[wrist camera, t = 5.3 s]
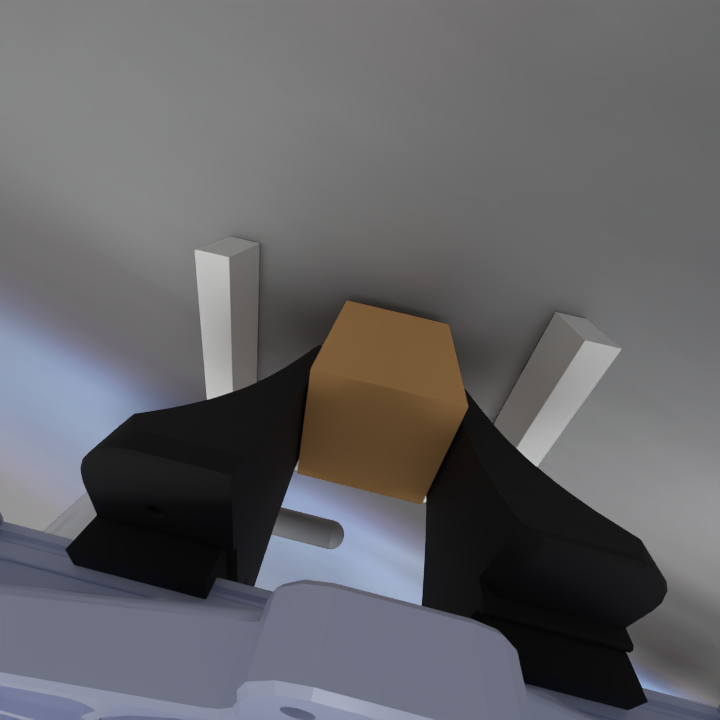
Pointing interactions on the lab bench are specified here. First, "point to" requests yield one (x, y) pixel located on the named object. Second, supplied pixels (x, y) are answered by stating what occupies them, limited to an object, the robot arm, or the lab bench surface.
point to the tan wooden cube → (382, 403)
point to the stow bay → (515, 421)
